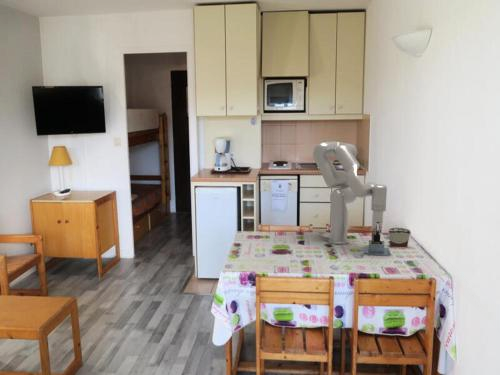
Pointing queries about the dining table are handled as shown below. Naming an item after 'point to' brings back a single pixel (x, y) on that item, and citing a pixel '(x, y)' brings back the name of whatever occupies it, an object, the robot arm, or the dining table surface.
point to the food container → (399, 237)
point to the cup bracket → (376, 249)
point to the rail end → (373, 238)
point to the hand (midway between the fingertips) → (376, 239)
